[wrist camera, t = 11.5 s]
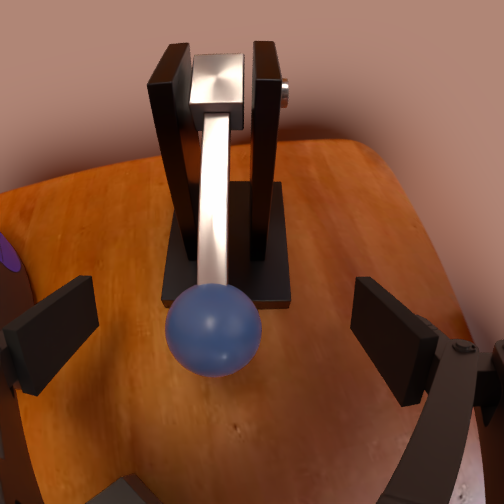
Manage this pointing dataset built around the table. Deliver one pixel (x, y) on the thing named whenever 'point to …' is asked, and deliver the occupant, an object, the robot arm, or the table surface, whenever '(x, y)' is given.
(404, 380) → the robot arm
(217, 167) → the lever
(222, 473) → the table surface
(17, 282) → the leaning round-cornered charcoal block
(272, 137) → the switch bracket
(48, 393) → the table surface
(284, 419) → the table surface
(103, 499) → the button box
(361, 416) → the table surface
